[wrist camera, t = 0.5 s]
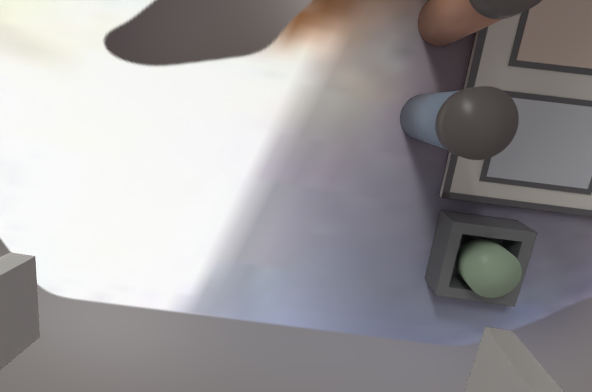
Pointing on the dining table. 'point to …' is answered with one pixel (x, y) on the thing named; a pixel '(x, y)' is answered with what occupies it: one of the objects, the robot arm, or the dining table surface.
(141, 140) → the dining table surface
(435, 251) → the button base
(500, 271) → the button
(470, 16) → the terracotta marker
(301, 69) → the dining table surface
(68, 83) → the dining table surface
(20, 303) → the robot arm
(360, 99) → the dining table surface
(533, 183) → the picture sheet
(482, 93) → the slate blue marker
